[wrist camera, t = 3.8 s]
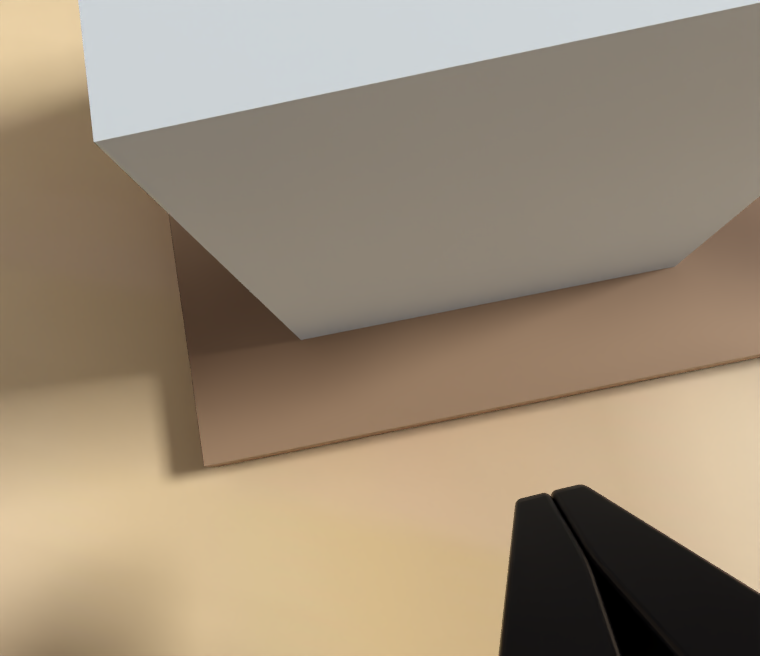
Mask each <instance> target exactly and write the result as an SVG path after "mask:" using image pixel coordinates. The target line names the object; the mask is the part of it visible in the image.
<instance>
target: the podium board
mask: <svg viewBox="0 0 760 656" xmlns="http://www.w3.org/2000/svg"><path fill="white" fill-rule="evenodd" d="M169 220H170V227H171V234H172V241H173V248H174V255H175V263H176V270H177V277H178V284H179V291H180V298H181V305H182V312H183V319H184V327H185V334H186V341H187V348H188V355H189V362H190V369H191V376H192V383H193V391H194V398H195V405H196V412H197V419H198V426H199V433H200V440H201V447H202V454H203V462H204V466H224V465H229V464H234V463H239V462H244V461H249V460H254V459H259V458H264V457H269V456H274V455H279V454H284V453H288V452H293V451H298V450H303V449H308V448H313V447H318V446H323V445H328V444H333V443H338V442H343V441H348V440H353V439H358V438H363V437H368V436H373V435H378V434H383V433H388V432H392V431H397V430H402V429H407V428H412V427H417V426H422V425H427V424H432V423H437V422H442V421H447V420H452V419H457V418H462V417H467V416H472V415H477V414H482V413H487V412H491V411H496V410H501V409H506V408H511V407H516V406H521V405H526V404H531V403H536V402H541V401H546V400H551V399H556V398H561V397H566V396H571V395H576V394H581V393H586V392H591V391H595V390H600V389H605V388H610V387H615V386H620V385H625V384H630V383H635V382H640V381H645V380H650V379H655V378H660V377H665V376H670V375H675V374H680V373H685V372H690V371H694V370H699V369H704V368H709V367H714V366H719V365H724V364H729V363H734V362H739V361H744V360H749V359H754V358H759V357H760V196H759V197H758V198H757V199H756V200H754V201H753V202H752V203H751V204H750V205H748V206H747V207H746V208H745V209H744V210H742V211H741V212H740V213H739V214H738V215H736V216H735V217H734V218H733V219H732V220H730V221H729V222H728V223H727V224H725V225H724V226H723V227H722V228H721V229H719V230H718V231H717V232H716V233H715V234H713V235H712V236H711V237H710V238H709V239H707V240H706V241H705V242H704V243H703V244H701V245H700V246H699V247H698V248H696V249H695V250H694V251H693V252H692V253H690V254H689V255H688V256H687V257H686V258H684V259H683V260H682V261H681V262H680V263H678V264H677V265H676V266H675V267H670V268H665V269H660V270H655V271H649V272H644V273H639V274H634V275H629V276H624V277H619V278H614V279H609V280H604V281H599V282H593V283H588V284H583V285H578V286H573V287H568V288H563V289H558V290H553V291H548V292H543V293H538V294H532V295H527V296H522V297H517V298H512V299H507V300H502V301H497V302H492V303H487V304H482V305H476V306H471V307H466V308H461V309H456V310H451V311H446V312H441V313H436V314H431V315H426V316H421V317H415V318H410V319H405V320H400V321H395V322H390V323H385V324H380V325H375V326H370V327H365V328H359V329H354V330H349V331H344V332H339V333H334V334H329V335H324V336H319V337H314V338H309V339H304V340H300V339H299V338H298V337H297V336H296V335H295V334H294V333H293V332H292V331H291V330H290V329H289V328H288V327H287V326H286V325H285V324H284V323H283V322H282V321H281V320H279V319H278V318H277V317H276V316H275V315H274V314H273V313H272V312H271V311H270V310H269V309H268V308H267V307H266V306H265V305H264V304H263V303H262V302H261V301H260V300H259V299H258V298H256V297H255V296H254V295H253V294H252V293H251V292H250V291H249V290H248V289H247V288H246V287H245V286H244V285H243V284H242V283H241V282H240V281H239V280H238V279H237V278H236V277H234V276H233V275H232V274H231V273H230V272H229V271H228V270H227V269H226V268H225V267H224V266H223V265H222V264H221V263H220V262H219V261H218V260H217V259H216V258H215V257H214V256H212V255H211V254H210V253H209V252H208V251H207V250H206V249H205V248H204V247H203V246H202V245H201V244H200V243H199V242H198V241H197V240H196V239H195V238H194V237H193V236H192V235H190V234H189V233H188V232H187V231H186V230H185V229H184V228H183V227H182V226H181V225H180V224H179V223H178V222H177V221H176V220H175V219H174V218H173V217H172V216H171V215H170V214H169Z"/></svg>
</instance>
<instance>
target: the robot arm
mask: <svg viewBox="0 0 760 656" xmlns="http://www.w3.org/2000/svg"><path fill="white" fill-rule="evenodd" d="M499 656H760V593H758V592H757V591H755V590H754V589H752V588H750V587H749V586H747V585H746V584H744V583H742V582H741V581H739V580H737V579H736V578H734V577H733V576H731V575H729V574H728V573H726V572H725V571H723V570H721V569H720V568H718V567H716V566H715V565H713V564H712V563H710V562H708V561H707V560H705V559H704V558H702V557H700V556H699V555H697V554H695V553H694V552H692V551H691V550H689V549H687V548H686V547H684V546H683V545H681V544H679V543H678V542H676V541H675V540H673V539H671V538H670V537H668V536H666V535H665V534H663V533H662V532H660V531H658V530H657V529H655V528H654V527H652V526H650V525H649V524H647V523H645V522H644V521H642V520H641V519H639V518H637V517H636V516H634V515H633V514H631V513H629V512H628V511H626V510H625V509H623V508H621V507H620V506H618V505H616V504H615V503H613V502H612V501H610V500H608V499H607V498H605V497H604V496H602V495H600V494H599V493H597V492H595V491H594V490H592V489H591V488H589V487H587V486H585V485H575V486H571V487H567V488H562V489H558V490H555V491H553V492H552V494H551V496H550V495H549V494H546V493H541V494H537V495H533V496H529V497H525V498H521V499H519V500H518V501H517V502H516V504H515V512H514V521H513V530H512V539H511V548H510V557H509V566H508V575H507V584H506V593H505V602H504V611H503V620H502V629H501V638H500V647H499Z"/></svg>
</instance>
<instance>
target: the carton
mask: <svg viewBox="0 0 760 656" xmlns="http://www.w3.org/2000/svg"><path fill="white" fill-rule="evenodd" d="M78 2H79V11H80V20H81V30H82V39H83V48H84V57H85V67H86V76H87V85H88V94H89V103H90V113H91V122H92V131H93V140H94V143H95V144H96V145H97V146H98V147H99V148H100V149H101V150H103V151H104V152H105V153H106V154H107V155H108V156H109V157H110V158H111V159H112V160H113V161H114V162H115V163H116V164H117V165H118V166H119V167H120V168H121V169H122V170H123V171H125V172H126V173H127V174H128V175H129V176H130V177H131V178H132V179H133V180H134V181H135V182H136V183H137V184H138V185H139V186H140V187H141V188H142V189H143V190H144V191H145V192H146V193H148V194H149V195H150V196H151V197H152V198H153V199H154V200H155V201H156V202H157V203H158V204H159V205H160V206H161V207H162V208H163V209H164V210H165V211H166V212H167V213H168V214H170V215H171V216H172V217H173V218H174V219H175V220H176V221H177V222H178V223H179V224H180V225H181V226H182V227H183V228H184V229H185V230H186V231H187V232H188V233H189V234H190V235H192V236H193V237H194V238H195V239H196V240H197V241H198V242H199V243H200V244H201V245H202V246H203V247H204V248H205V249H206V250H207V251H208V252H209V253H210V254H211V255H212V256H214V257H215V258H216V259H217V260H218V261H219V262H220V263H221V264H222V265H223V266H224V267H225V268H226V269H227V270H228V271H229V272H230V273H231V274H232V275H233V276H234V277H236V278H237V279H238V280H239V281H240V282H241V283H242V284H243V285H244V286H245V287H246V288H247V289H248V290H249V291H250V292H251V293H252V294H253V295H254V296H255V297H256V298H258V299H259V300H260V301H261V302H262V303H263V304H264V305H265V306H266V307H267V308H268V309H269V310H270V311H271V312H272V313H273V314H274V315H275V316H276V317H277V318H278V319H279V320H281V321H282V322H283V323H284V324H285V325H286V326H287V327H288V328H289V329H290V330H291V331H292V332H293V333H294V334H295V335H296V336H297V337H298V338H299V339H300V340H304V339H309V338H314V337H319V336H324V335H329V334H334V333H339V332H344V331H349V330H354V329H359V328H365V327H370V326H375V325H380V324H385V323H390V322H395V321H400V320H405V319H410V318H415V317H421V316H426V315H431V314H436V313H441V312H446V311H451V310H456V309H461V308H466V307H471V306H476V305H482V304H487V303H492V302H497V301H502V300H507V299H512V298H517V297H522V296H527V295H532V294H538V293H543V292H548V291H553V290H558V289H563V288H568V287H573V286H578V285H583V284H588V283H593V282H599V281H604V280H609V279H614V278H619V277H624V276H629V275H634V274H639V273H644V272H649V271H655V270H660V269H665V268H670V267H675V266H676V265H677V264H678V263H680V262H681V261H682V260H683V259H684V258H686V257H687V256H688V255H689V254H690V253H692V252H693V251H694V250H695V249H696V248H698V247H699V246H700V245H701V244H703V243H704V242H705V241H706V240H707V239H709V238H710V237H711V236H712V235H713V234H715V233H716V232H717V231H718V230H719V229H721V228H722V227H723V226H724V225H725V224H727V223H728V222H729V221H730V220H732V219H733V218H734V217H735V216H736V215H738V214H739V213H740V212H741V211H742V210H744V209H745V208H746V207H747V206H748V205H750V204H751V203H752V202H753V201H754V200H756V199H757V198H758V197H759V196H760V0H78Z"/></svg>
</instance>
